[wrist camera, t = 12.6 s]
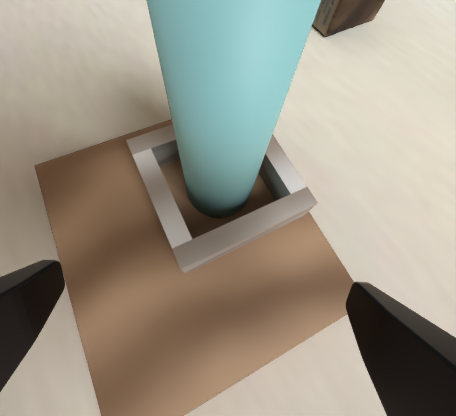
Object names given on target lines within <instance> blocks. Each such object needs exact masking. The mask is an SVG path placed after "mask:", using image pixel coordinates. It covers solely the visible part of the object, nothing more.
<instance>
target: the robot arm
mask: <svg viewBox="0 0 456 416" xmlns="http://www.w3.org/2000/svg"><path fill="white" fill-rule="evenodd" d="M64 287H65V280H64V276H63V271H62V267H61V264H60V262H59V261H55V260H42V261H39V262H37V263H34V264H32V265H29V266H27V267H24V268H22V269H19V270H17V271H14V272H12V273H10V274H7V275H5V276H2V277H0V392H1V390H2V389H3V387H4V386H5V384H6V383H7V382H8V380H9V379H10V377H11V376H12V374H13V373H14V371H15V370H16V368H17V367H18V365H19V364H20V362H21V361H22V360H23V358H24V357H25V355H26V354H27V352H28V351H29V349H30V348H31V346H32V345H33V343H34V342H35V340H36V338H37V337H38V335H39V333H40V332H41V330H42V328H43V326H44V325H45V323H46V321H47V319H48V317H49V316H50V314H51V312H52V310H53V308H54V307H55V305H56V303H57V301H58V299H59V298H60V296H61V294H62V292H63V290H64ZM346 311H347V314H348V317H349V320H350V323H351V326H352V329H353V332H354V335H355V338H356V341H357V344H358V347H359V350H360V353H361V356H362V359H363V361H364V363H365V366H366V368H367V371H368V373H369V375H370V378H371V380H372V382H373V384H374V387H375V389H376V391H377V394H378V396H379V398H380V400H381V403H382V405H383V407H384V410H385V412H386V414H387V416H456V338H455V337H454V336H452V335H450V334H449V333H447V332H446V331H444V330H442V329H441V328H439V327H438V326H436V325H435V324H433V323H431V322H430V321H428V320H427V319H425V318H423V317H422V316H420V315H419V314H417V313H416V312H414V311H412V310H411V309H409V308H408V307H406V306H404V305H403V304H401V303H400V302H398V301H396V300H395V299H393V298H392V297H390V296H389V295H387V294H385V293H384V292H382V291H381V290H379V289H377V288H376V287H374V286H373V285H371V284H369V283H367V282H354V283H353V284H352V286H351V289H350V291H349V294H348V297H347V300H346Z"/></svg>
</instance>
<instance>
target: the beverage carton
mask: <svg viewBox="0 0 456 416" xmlns="http://www.w3.org/2000/svg"><path fill="white" fill-rule="evenodd" d="M384 1H385V0H321V2H320V5H319V7H318V10H317V13H316V16H315V18H314V21H313V25H314V26H315V27H316V28H317V29H318V30H319V31H320V32H321V33H322V34H323V35H324V36H325V37H327V36H330V35H333V34H336V33H338V32H340V31H343V30H346V29H348V28H353V27H355V26H357V25H360V24H363V23H365V22H369V21H372V20H373V19H374V18H375V16H376V14H377V13H378V11H379V9H380V8H381V6H382V4H383V3H384Z"/></svg>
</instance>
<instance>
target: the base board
mask: <svg viewBox="0 0 456 416" xmlns="http://www.w3.org/2000/svg"><path fill="white" fill-rule="evenodd" d="M35 169H36V173H37V177H38V180H39V184H40V188H41V192H42V195H43V199H44V203H45V207H46V210H47V214H48V218H49V221H50V225H51V229H52V233H53V236H54V240H55V244H56V248H57V251H58V255H59V259H60V263H61V266H62V270H63V274H64V277H65V281H66V285H67V289H68V292H69V296H70V300H71V304H72V307H73V311H74V315H75V319H76V322H77V326H78V330H79V333H80V337H81V341H82V345H83V348H84V352H85V356H86V360H87V363H88V367H89V371H90V375H91V378H92V382H93V386H94V389H95V393H96V397H97V401H98V404H99V408H100V412H101V416H184V415H186V414H187V413H189V412H190V411H192V410H194V409H195V408H197V407H198V406H200V405H202V404H203V403H205V402H207V401H208V400H210V399H211V398H213V397H215V396H216V395H218V394H219V393H221V392H223V391H224V390H226V389H227V388H229V387H231V386H232V385H234V384H236V383H237V382H239V381H240V380H242V379H244V378H245V377H247V376H248V375H250V374H252V373H253V372H255V371H256V370H258V369H260V368H261V367H263V366H265V365H266V364H268V363H269V362H271V361H273V360H274V359H276V358H277V357H279V356H281V355H282V354H284V353H285V352H287V351H289V350H290V349H292V348H294V347H295V346H297V345H298V344H300V343H302V342H303V341H305V340H306V339H308V338H310V337H311V336H313V335H314V334H316V333H318V332H319V331H321V330H323V329H324V328H326V327H327V326H329V325H331V324H332V323H334V322H335V321H337V320H339V319H340V318H342V317H343V316H345V315H347V311H346V300H347V297H348V294H349V291H350V289H351V286H352V284H353V283H354V282H353V280H352V278H351V277H350V275H349V274H348V272H347V271H346V269H345V267H344V266H343V264H342V263H341V261H340V260H339V258H338V256H337V255H336V253H335V252H334V250H333V249H332V247H331V246H330V244H329V242H328V241H327V239H326V238H325V236H324V235H323V233H322V231H321V230H320V228H319V227H318V225H317V224H316V222H315V221H314V219H313V217H312V216H311V214H310V213H309V211H310V210H311V209H312V208H313V207H314V206H315V205H316V204H317V203H318V202H317V201H316V199H315V198H314V196H313V195H312V193H311V192H310V190H309V189H308V187H307V186H306V184H305V183H304V181H303V180H302V178H301V177H300V175H299V173H298V172H297V170H296V169H295V167H294V166H293V164H292V163H291V161H290V160H289V158H288V157H287V155H286V154H285V152H284V151H283V149H282V148H281V146H280V145H279V143H278V142H277V140H276V139H275V137H274V136H273V134H272V136H271V139H270V142H269V145H268V147H267V150H266V153H265V156H264V158H263V161H262V164H261V167H260V169H259V172H258V175H257V178H256V180H255V183H254V186H253V189H252V191H251V194H250V197H249V199H248V202H247V204H246V205H245V206H244V208H243V209H242V210H241V211H239V212H238V213H236V214H235V215H232V216H230V217H226V218H213V217H209V216H206V215H204V214H202V213H201V212H199V211H198V210H197V209H196V208H195V207H194V206H193V205H192V203H191V202H190V199H189V197H188V193H187V188H186V183H185V178H184V174H183V169H182V164H181V160H180V155H179V150H178V145H177V141H176V136H175V131H174V127H173V122H172V119H171V120H168V121H165V122H162V123H159V124H156V125H153V126H151V127H148V128H145V129H142V130H139V131H136V132H133V133H130V134H127V135H124V136H121V137H118V138H115V139H112V140H109V141H106V142H103V143H100V144H97V145H94V146H91V147H89V148H86V149H83V150H80V151H77V152H74V153H71V154H68V155H65V156H62V157H59V158H56V159H53V160H50V161H47V162H44V163H41V164H38V165H35Z"/></svg>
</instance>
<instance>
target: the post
mask: <svg viewBox="0 0 456 416" xmlns="http://www.w3.org/2000/svg"><path fill="white" fill-rule="evenodd" d="M320 2H321V0H147V4H148V9H149V14H150V18H151V23H152V28H153V32H154V37H155V42H156V47H157V51H158V56H159V61H160V65H161V70H162V75H163V80H164V84H165V89H166V94H167V98H168V103H169V108H170V112H171V117H172V122H173V127H174V131H175V136H176V141H177V145H178V150H179V155H180V160H181V164H182V169H183V174H184V178H185V183H186V188H187V193H188V197H189V199H190V202H191V203H192V205H193V206H194V207H195V208H196V209H197V210H198V211H199V212H201V213H202V214H204V215H206V216H209V217H213V218H226V217H230V216H232V215H235V214H236V213H238V212H239V211H241V210H242V209H243V208H244V206H245V205H246V204H247V202H248V199H249V197H250V194H251V191H252V189H253V186H254V183H255V180H256V178H257V175H258V172H259V169H260V167H261V164H262V161H263V158H264V156H265V153H266V150H267V147H268V145H269V142H270V139H271V136H272V134H273V131H274V128H275V125H276V123H277V120H278V117H279V114H280V112H281V109H282V106H283V104H284V101H285V98H286V95H287V93H288V90H289V87H290V84H291V82H292V79H293V76H294V73H295V71H296V68H297V65H298V62H299V60H300V57H301V54H302V51H303V49H304V46H305V43H306V40H307V38H308V35H309V32H310V29H311V27H312V24H313V21H314V18H315V16H316V13H317V10H318V7H319V5H320Z"/></svg>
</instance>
